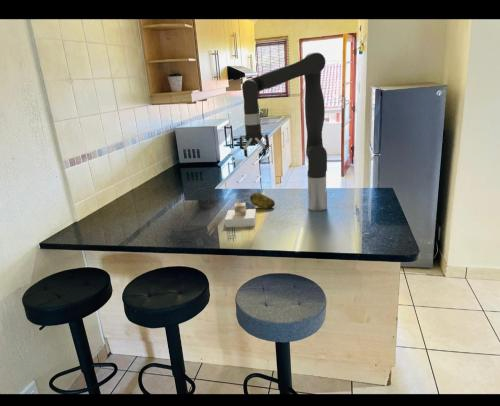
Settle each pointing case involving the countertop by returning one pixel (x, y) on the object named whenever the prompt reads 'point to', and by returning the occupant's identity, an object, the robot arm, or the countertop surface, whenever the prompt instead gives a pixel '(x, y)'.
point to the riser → (240, 219)
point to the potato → (262, 201)
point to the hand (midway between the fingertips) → (255, 156)
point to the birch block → (240, 209)
